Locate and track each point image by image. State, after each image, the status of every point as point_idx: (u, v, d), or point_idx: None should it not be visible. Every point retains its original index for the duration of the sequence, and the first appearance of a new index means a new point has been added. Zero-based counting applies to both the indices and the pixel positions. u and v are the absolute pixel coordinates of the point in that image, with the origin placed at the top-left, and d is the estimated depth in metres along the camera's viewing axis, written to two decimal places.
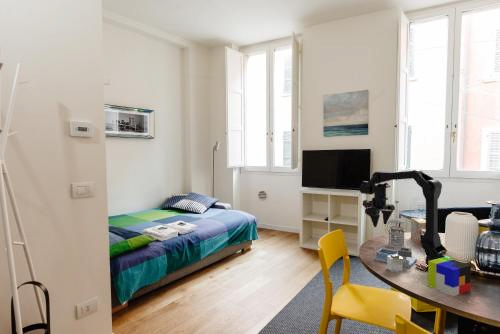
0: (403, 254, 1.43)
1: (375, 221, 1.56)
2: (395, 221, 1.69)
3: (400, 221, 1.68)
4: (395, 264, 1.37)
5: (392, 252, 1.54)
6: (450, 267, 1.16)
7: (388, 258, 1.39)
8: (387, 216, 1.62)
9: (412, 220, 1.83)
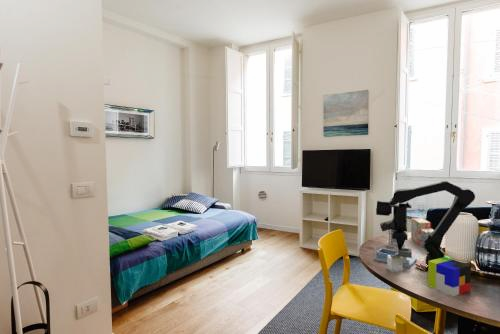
0: (403, 254, 1.43)
1: (401, 243, 1.44)
2: None
3: None
4: (395, 264, 1.37)
5: (392, 252, 1.54)
6: (450, 267, 1.16)
7: (388, 258, 1.39)
8: None
9: (412, 220, 1.83)
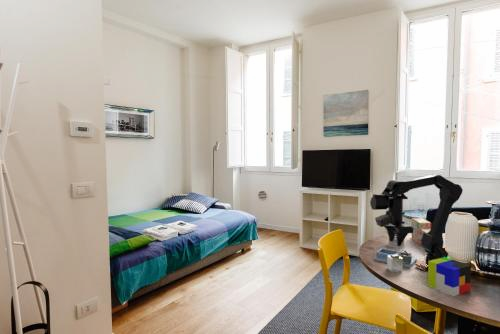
0: (403, 259, 1.43)
1: (402, 239, 1.33)
2: None
3: None
4: (395, 264, 1.37)
5: (392, 252, 1.54)
6: (450, 267, 1.16)
7: (388, 258, 1.39)
8: (394, 232, 1.41)
9: (413, 220, 1.82)
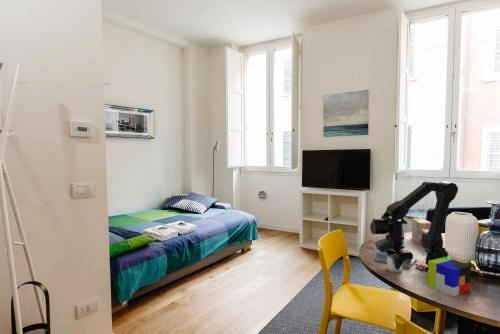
0: None
1: (400, 263, 1.35)
2: None
3: None
4: None
5: None
6: (450, 267, 1.16)
7: (388, 258, 1.39)
8: None
9: (413, 220, 1.82)
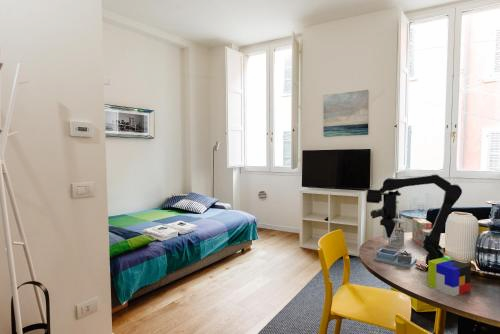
0: (403, 259, 1.43)
1: (390, 231, 1.45)
2: None
3: (400, 221, 1.68)
4: None
5: (392, 252, 1.54)
6: (450, 267, 1.16)
7: None
8: None
9: (413, 220, 1.82)
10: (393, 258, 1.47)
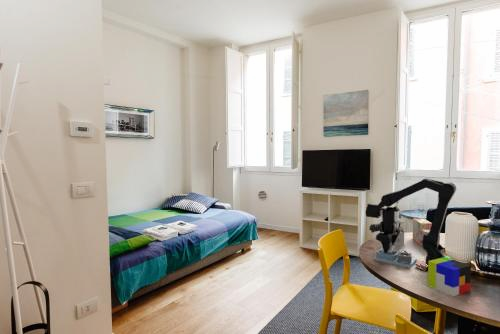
0: (403, 259, 1.43)
1: (386, 247, 1.48)
2: None
3: (400, 221, 1.68)
4: None
5: None
6: (450, 267, 1.16)
7: None
8: (393, 240, 1.55)
9: (414, 221, 1.81)
10: (393, 258, 1.47)
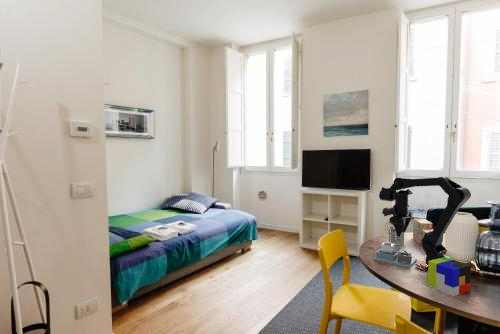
0: (403, 259, 1.43)
1: (400, 230, 1.47)
2: None
3: None
4: (385, 250, 1.51)
5: None
6: (450, 267, 1.16)
7: None
8: (406, 224, 1.54)
9: (414, 221, 1.81)
10: (393, 258, 1.47)
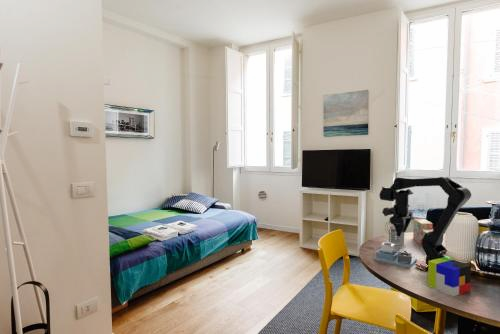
0: (403, 259, 1.43)
1: (400, 230, 1.47)
2: None
3: None
4: (385, 250, 1.51)
5: None
6: (450, 267, 1.16)
7: None
8: (406, 224, 1.55)
9: (414, 221, 1.81)
10: (393, 258, 1.47)
